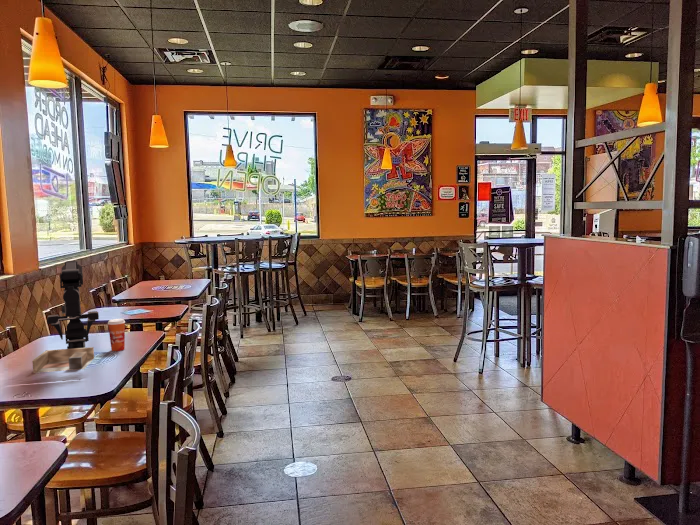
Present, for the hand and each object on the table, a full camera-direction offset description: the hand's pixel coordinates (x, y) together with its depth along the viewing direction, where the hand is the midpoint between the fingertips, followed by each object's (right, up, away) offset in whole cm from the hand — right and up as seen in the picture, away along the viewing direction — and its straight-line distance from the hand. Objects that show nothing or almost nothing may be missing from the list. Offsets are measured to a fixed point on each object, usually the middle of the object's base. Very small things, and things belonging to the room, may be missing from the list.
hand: (74, 338), depth 220 cm
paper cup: (+5, -10, +29) cm, 31 cm away
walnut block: (+1, -12, +1) cm, 12 cm away
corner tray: (-5, -12, +2) cm, 13 cm away
